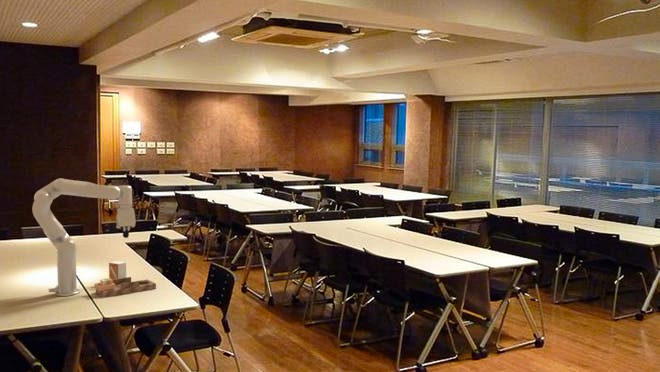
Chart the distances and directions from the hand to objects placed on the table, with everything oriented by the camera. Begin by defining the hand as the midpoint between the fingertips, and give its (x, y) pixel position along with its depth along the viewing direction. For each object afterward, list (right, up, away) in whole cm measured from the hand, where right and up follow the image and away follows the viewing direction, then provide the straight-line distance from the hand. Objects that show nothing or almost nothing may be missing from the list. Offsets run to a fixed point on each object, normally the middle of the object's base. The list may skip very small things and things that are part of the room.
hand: (125, 237), depth 334 cm
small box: (-8, -29, +8) cm, 31 cm away
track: (+3, -30, -8) cm, 31 cm away
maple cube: (-5, -27, -15) cm, 32 cm away
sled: (-6, -27, -16) cm, 32 cm away
